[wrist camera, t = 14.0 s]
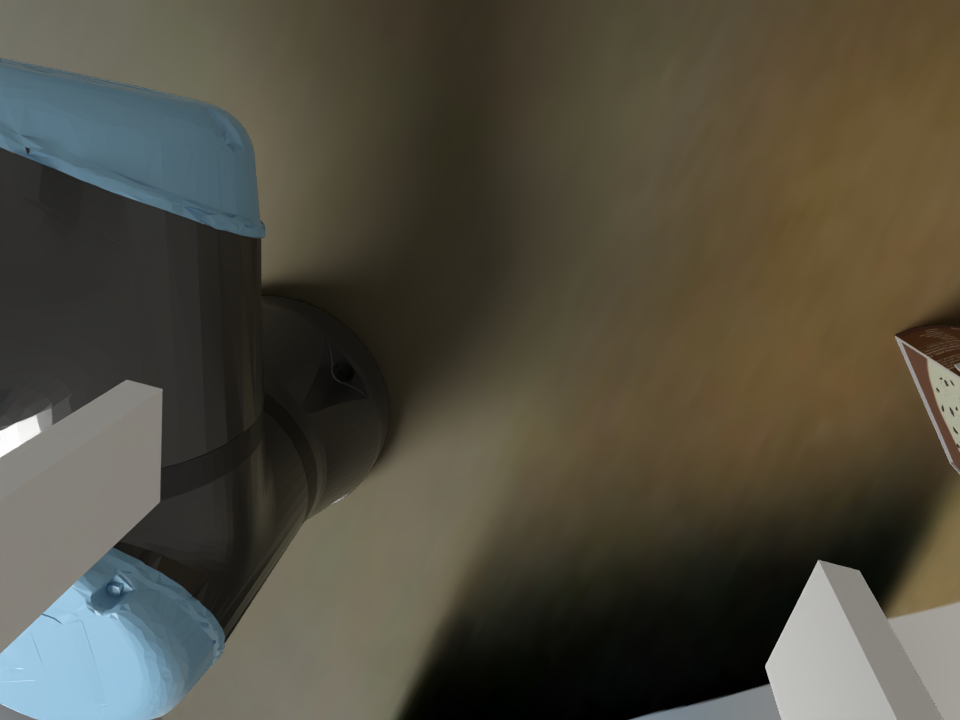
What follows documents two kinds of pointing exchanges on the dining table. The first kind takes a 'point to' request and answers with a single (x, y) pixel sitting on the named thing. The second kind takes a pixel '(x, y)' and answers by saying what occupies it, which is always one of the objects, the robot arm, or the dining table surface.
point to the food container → (937, 379)
